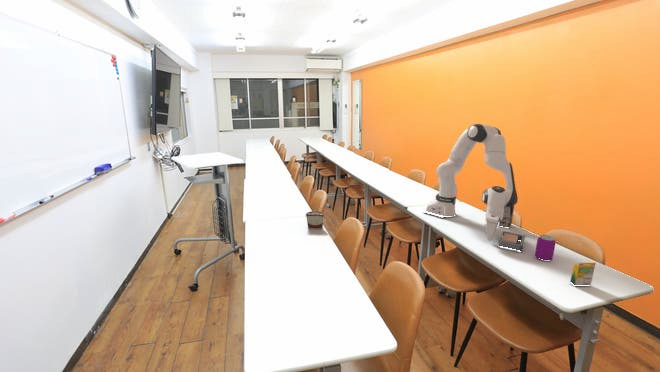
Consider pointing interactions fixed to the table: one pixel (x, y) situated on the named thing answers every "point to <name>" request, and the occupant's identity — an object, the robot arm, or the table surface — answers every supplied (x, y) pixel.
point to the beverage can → (545, 247)
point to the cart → (510, 238)
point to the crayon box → (582, 273)
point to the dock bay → (512, 245)
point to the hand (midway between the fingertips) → (491, 237)
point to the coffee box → (507, 217)
